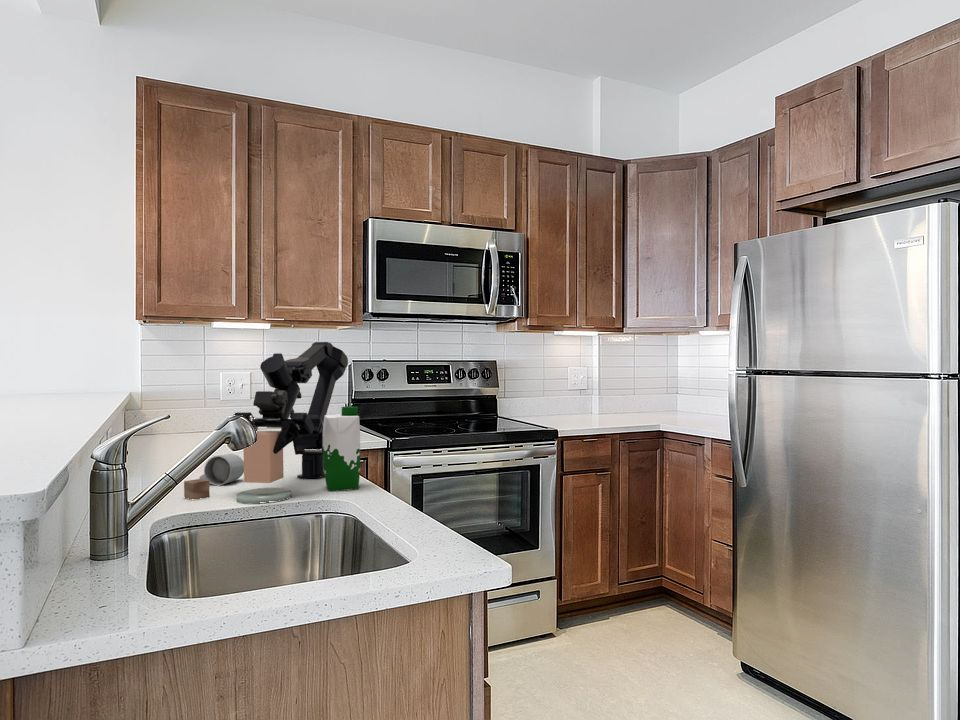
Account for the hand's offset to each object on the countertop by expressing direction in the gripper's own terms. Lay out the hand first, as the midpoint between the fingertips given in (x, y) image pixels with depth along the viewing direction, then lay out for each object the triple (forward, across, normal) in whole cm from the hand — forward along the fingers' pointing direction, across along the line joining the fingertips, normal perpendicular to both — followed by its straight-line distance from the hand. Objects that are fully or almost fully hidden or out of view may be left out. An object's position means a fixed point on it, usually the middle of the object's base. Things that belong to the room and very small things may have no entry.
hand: (260, 452), depth 147 cm
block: (+8, -16, +8) cm, 20 cm away
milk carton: (-3, +14, +18) cm, 23 cm away
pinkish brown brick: (+4, 0, +6) cm, 7 cm away
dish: (+7, 0, +8) cm, 11 cm away
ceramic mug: (-4, -21, +20) cm, 29 cm away
